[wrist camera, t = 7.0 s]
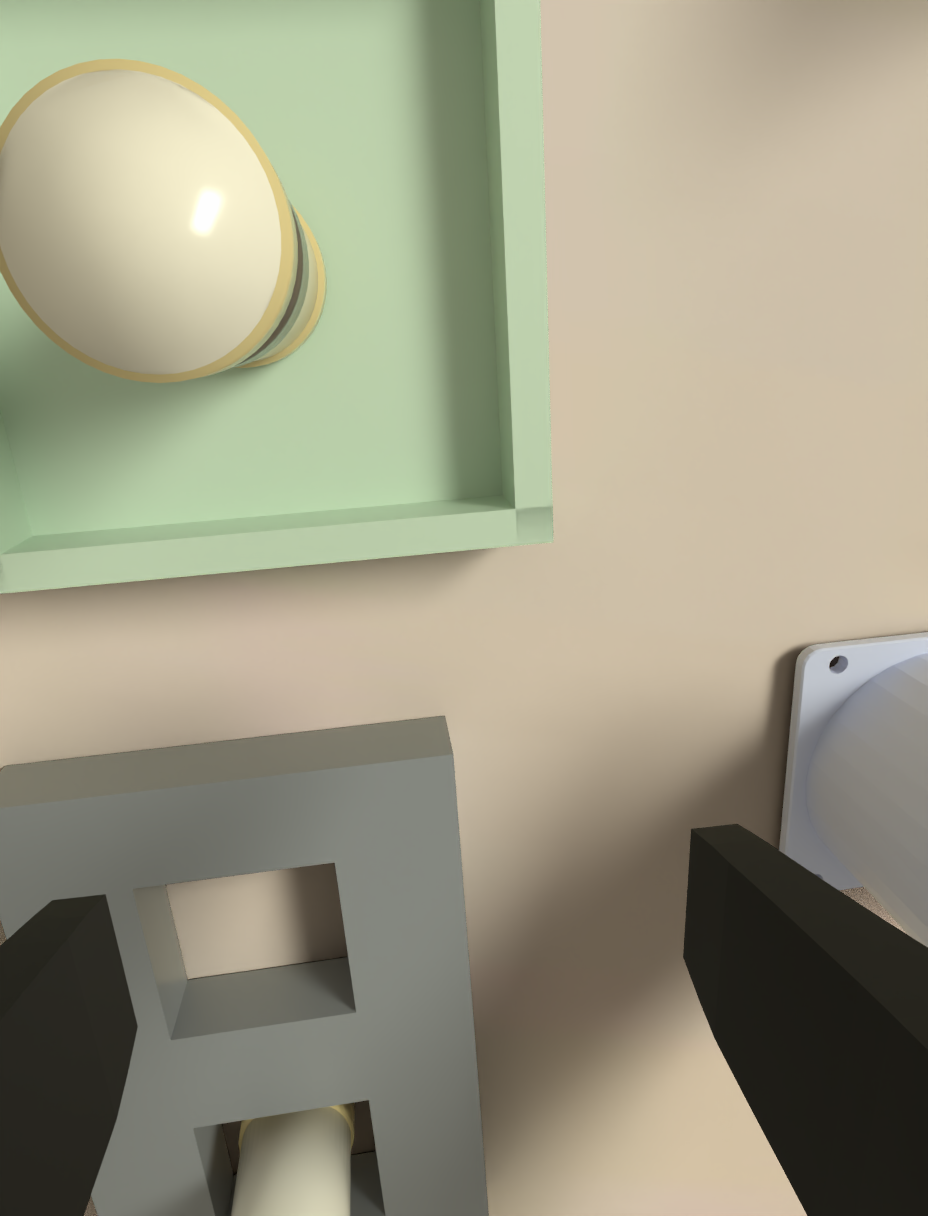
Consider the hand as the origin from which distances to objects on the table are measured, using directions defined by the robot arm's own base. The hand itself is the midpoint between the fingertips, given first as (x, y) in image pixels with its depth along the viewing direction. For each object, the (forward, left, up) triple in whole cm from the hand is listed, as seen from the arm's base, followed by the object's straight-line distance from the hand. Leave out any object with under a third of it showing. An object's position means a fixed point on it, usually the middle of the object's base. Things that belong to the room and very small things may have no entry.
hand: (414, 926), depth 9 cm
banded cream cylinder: (+2, -8, -10) cm, 13 cm away
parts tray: (+2, -9, -10) cm, 13 cm away
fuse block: (+4, +11, -10) cm, 16 cm away
